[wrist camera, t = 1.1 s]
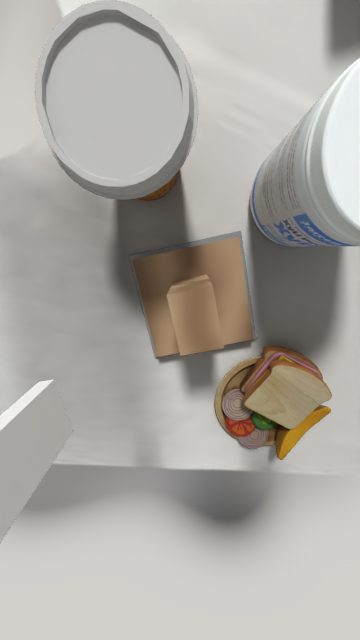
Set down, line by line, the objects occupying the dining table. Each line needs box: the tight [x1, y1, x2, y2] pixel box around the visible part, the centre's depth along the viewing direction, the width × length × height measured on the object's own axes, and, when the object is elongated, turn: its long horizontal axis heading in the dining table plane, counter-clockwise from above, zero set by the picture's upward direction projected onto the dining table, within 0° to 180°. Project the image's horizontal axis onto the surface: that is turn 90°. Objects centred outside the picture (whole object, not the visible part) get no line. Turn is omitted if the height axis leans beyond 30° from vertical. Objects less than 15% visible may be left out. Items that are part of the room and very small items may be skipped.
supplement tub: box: [250, 58, 360, 247], centre depth 19 cm, size 10×10×15 cm
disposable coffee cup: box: [35, 0, 198, 200], centre depth 20 cm, size 10×10×12 cm
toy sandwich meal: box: [215, 346, 332, 460], centre depth 30 cm, size 12×14×5 cm
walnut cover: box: [132, 237, 254, 357], centre depth 24 cm, size 11×11×9 cm
